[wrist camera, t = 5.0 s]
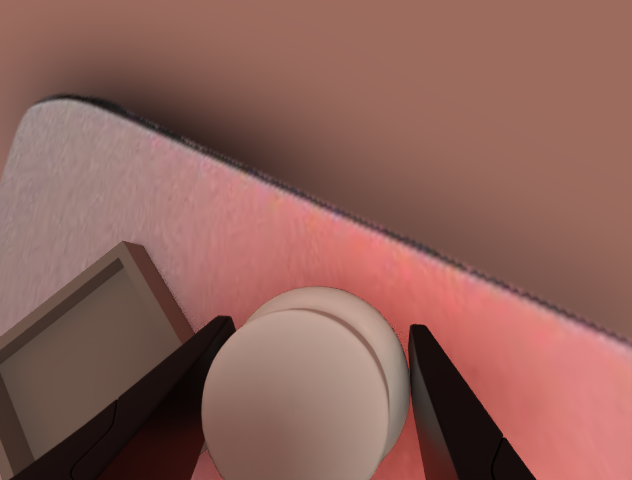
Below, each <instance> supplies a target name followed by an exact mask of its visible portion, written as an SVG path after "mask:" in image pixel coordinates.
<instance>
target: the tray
mask: <svg viewBox="0 0 632 480" xmlns="http://www.w3.org/2000/svg"><path fill="white" fill-rule="evenodd" d="M193 335H195V333H194V332H193V330H192V328H191V327H190V325H189V323H188V322H187V320H186V318H185V317H184V315H183V313H182V311H181V310H180V308H179V306H178V305H177V303H176V301H175V300H174V298H173V296H172V295H171V293H170V291H169V289H168V288H167V286H166V284H165V283H164V281H163V279H162V278H161V276H160V274H159V273H158V271H157V269H156V267H155V266H154V264H153V262H152V261H151V259H150V257H149V256H148V254H147V252H146V251H145V249H144V247H143V246H141V245H137V244H133V243H130V242H126V241H122V242H120V243H119V244H118V245H117V246H115V247H114V248H113V249H111V250H110V251H109V252H108V253H106V254H105V255H104V256H103V257H101V258H100V259H99V260H97V261H96V262H95V263H94V264H92V265H91V266H90V267H89V268H87V269H86V270H85V271H83V272H82V273H81V274H80V275H78V276H77V277H76V278H75V279H73V280H72V281H71V282H69V283H68V284H67V285H66V286H64V287H63V288H62V289H61V290H59V291H58V292H57V293H55V294H54V295H53V296H52V297H50V298H49V299H48V300H47V301H45V302H44V303H43V304H42V305H40V306H39V307H38V308H36V309H35V310H34V311H33V312H31V313H30V314H29V315H28V316H26V317H25V318H24V319H22V320H21V321H20V322H19V323H17V324H16V325H15V326H14V327H12V328H11V329H10V330H8V331H7V332H6V333H5V334H3V335H2V336H1V337H0V474H1V477H2V480H9V479H10V478H12V477H13V476H14V475H16V474H17V473H19V472H20V471H21V470H23V469H24V468H25V467H27V466H28V465H30V464H31V463H32V462H34V461H35V460H37V459H38V458H39V457H41V456H42V455H43V454H45V453H46V452H48V451H49V450H50V449H52V448H53V447H55V446H56V445H57V444H59V443H60V442H62V441H63V440H64V439H66V438H67V437H68V436H70V435H71V434H72V433H74V432H75V431H76V430H78V429H79V428H80V427H82V426H83V425H84V424H86V423H87V422H88V421H89V420H91V419H92V418H93V417H94V416H96V415H97V414H98V413H99V412H101V411H102V410H103V409H104V408H106V407H107V406H108V405H109V404H111V403H112V402H113V401H114V400H116V399H118V397H119V396H120V395H122V394H123V393H124V392H125V391H126V390H128V389H129V388H130V387H131V386H133V385H134V384H135V383H136V382H137V381H139V380H140V379H141V378H142V377H144V376H145V375H146V374H147V373H148V372H150V371H151V370H152V369H153V368H154V367H156V366H157V365H158V364H159V363H161V362H162V361H163V360H164V359H165V358H167V357H168V356H169V355H170V354H172V353H173V352H174V351H175V350H176V349H178V348H179V347H180V346H181V345H182V344H184V343H185V342H186V341H187V340H189V339H190V338H191V337H192V336H193ZM206 449H207V445H206V441H205V442H204V445H203V447H202V450H201V453H202V452H204V451H205V450H206ZM201 453H200V454H201Z"/></svg>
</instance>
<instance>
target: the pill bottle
mask: <svg viewBox="0 0 632 480" xmlns="http://www.w3.org/2000/svg"><path fill="white" fill-rule="evenodd" d="M409 404H410V375H409V369H408V365H407V361H406V357H405V353H404V351H403V348H402V345H401V343H400V340H399V338H398V336H397V334H396V333H395V332H394V330H393V328H392V327H391V326H390V324H389V323H388V322H387V320H386V319H385V318H384V317H383V316H382V315H381V314H380V312H379V311H378V310H377V309H375V308H374V307H373V306H372V305H370V304H369V303H368V302H366V301H365V300H363V299H362V298H360V297H358V296H356V295H354V294H351V293H349V292H347V291H344V290H342V289H337V288H332V287H323V286H311V287H302V288H297V289H293V290H290V291H287V292H284V293H282V294H279V295H277V296H275V297H274V298H272V299H270V300H269V301H267V302H266V303H264V304H263V305H262V306H261V307H259V308H258V309H257V310H256V311H255V312H254V313H253V314H252V315H251V316H250V317H249V318H248V320H247V321H246V323H245V324H244V325H243V326H242V327H240V328H239V329H238V330H237V331H236V332H235V333H234V334H233V335H232V336H231V337H230V338H229V339H228V340H227V341H226V343H225V344H224V345H223V346H222V347H221V349H220V350H219V352H218V353H217V355H216V357H215V359H214V360H213V362H212V365H211V367H210V369H209V372H208V375H207V378H206V381H205V385H204V391H203V398H202V413H201V415H202V428H203V433H204V437H205V441H206V445H207V449H208V452H209V454H210V456H211V458H212V460H213V462H214V464H215V466H216V468H217V470H218V472H219V474H220V475H221V477H222V478H223V479H224V480H370V479H371V477H372V476H373V474H374V473H375V471H376V470H377V467H378V465H379V463H380V462H381V461H382V460H383V459H384V458H385V457H386V456H387V454H388V453H389V452H390V451H391V449H392V448H393V446H394V445H395V443H396V442H397V440H398V438H399V436H400V434H401V432H402V429H403V427H404V424H405V421H406V418H407V414H408V410H409Z"/></svg>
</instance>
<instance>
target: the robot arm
mask: <svg viewBox="0 0 632 480" xmlns="http://www.w3.org/2000/svg"><path fill="white" fill-rule="evenodd" d="M235 332H236V329H235V326H234V323H233V320H232V318H231V317H230V316H217V317H215V318H214V319H213V320H212V321H210V322H209V323H208V324H207V325H206V326H204V327H203V328H202V329H201V330H199V331H198V332H197V333H196V334H195V335H193V336H192V337H191V338H190V339H189V340H187V341H186V342H185V343H184V344H182V345H181V346H180V347H179V348H178V349H176V350H175V351H174V352H173V353H172V354H170V355H169V356H168V357H167V358H165V359H164V360H163V361H162V362H161V363H159V364H158V365H157V366H156V367H154V368H153V369H152V370H151V371H150V372H148V373H147V374H146V375H145V376H144V377H142V378H141V379H140V380H139V381H137V382H136V383H135V384H134V385H133V386H131V387H130V388H129V389H128V390H126V391H125V392H124V393H123V394H122V395H120V396H119V397H118V399H116V400H114V401H113V402H112V403H111V404H109V405H108V406H107V407H106V408H104V409H103V410H102V411H101V412H99V413H98V414H97V415H96V416H94V417H93V418H92V419H91V420H89V421H88V422H87V423H86V424H84V425H83V426H82V427H80V428H79V429H78V430H76V431H75V432H74V433H72V434H71V435H70V436H68V437H67V438H66V439H64V440H63V441H62V442H60V443H59V444H57V445H56V446H55V447H53V448H52V449H50V450H49V451H48V452H46V453H45V454H43V455H42V456H41V457H39V458H38V459H37V460H35V461H34V462H32V463H31V464H30V465H28V466H27V467H25V468H24V469H23V470H21V471H20V472H19V473H17V474H16V475H14V476H13V477H12V478H10V479H9V480H191V477H192V474H193V472H194V469H195V466H196V464H197V461H198V458H199V456H200V453H201V450H202V447H203V445H204V442H205V437H204V433H203V428H202V415H201V413H202V398H203V391H204V385H205V381H206V378H207V375H208V372H209V369H210V367H211V365H212V362H213V360H214V359H215V357H216V355H217V353H218V352H219V350H220V349H221V347H222V346H223V345H224V344H225V343H226V341H227V340H228V339H229V338H230V337H231V336H232V335H233V334H234V333H235ZM408 352H409V368H410V384H411V398H412V406H413V412H414V418H415V423H416V429H417V434H418V440H419V445H420V451H421V456H422V462H423V467H424V473H425V478H426V480H536V478H535V477H534V476H533V474H532V473H531V472H530V470H529V469H528V468H527V466H526V465H525V464H524V462H523V461H522V460H521V458H520V457H519V456H518V454H517V453H516V452H515V450H514V449H513V447H512V446H511V444H510V443H509V442H508V440H507V439H506V438H505V437H503V433H502V432H501V431H500V429H499V428H498V426H497V425H496V424H495V422H494V421H493V419H492V418H491V417H490V415H489V414H488V412H487V411H486V410H485V408H484V407H483V405H482V404H481V402H480V401H479V400H478V398H477V397H476V395H475V394H474V393H473V391H472V390H471V388H470V387H469V386H468V384H467V383H466V381H465V380H464V379H463V377H462V376H461V374H460V373H459V372H458V370H457V369H456V367H455V366H454V365H453V363H452V362H451V360H450V359H449V357H448V356H447V355H446V353H445V352H444V350H443V349H442V348H441V346H440V345H439V343H438V342H437V341H436V339H435V338H434V336H433V335H432V334H431V332H430V331H429V329H428V328H427V327H426V326H425V325H420V324H412V325H411V326H410V332H409V343H408Z"/></svg>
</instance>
